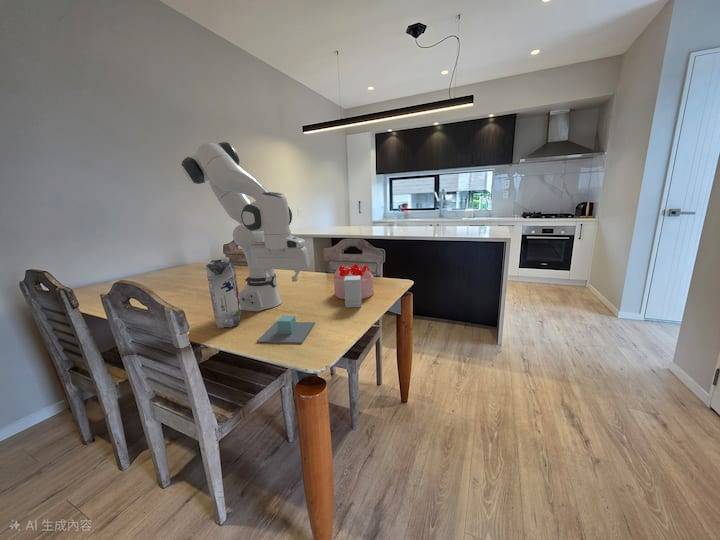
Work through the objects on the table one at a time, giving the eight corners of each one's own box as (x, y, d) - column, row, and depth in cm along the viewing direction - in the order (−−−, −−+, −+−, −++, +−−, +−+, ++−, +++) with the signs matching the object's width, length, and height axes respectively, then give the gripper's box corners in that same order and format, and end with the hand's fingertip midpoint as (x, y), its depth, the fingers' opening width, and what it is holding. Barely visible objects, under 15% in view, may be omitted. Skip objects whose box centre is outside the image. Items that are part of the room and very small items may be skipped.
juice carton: (215, 330, 109) (202, 261, 102) (220, 320, 119) (209, 256, 112) (240, 327, 111) (229, 259, 104) (243, 317, 121) (233, 254, 114)
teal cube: (278, 334, 102) (276, 321, 101) (283, 328, 107) (282, 315, 106) (291, 334, 101) (290, 321, 100) (296, 328, 106) (295, 315, 105)
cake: (376, 288, 152) (375, 262, 149) (370, 301, 133) (369, 271, 129) (340, 287, 156) (338, 262, 152) (330, 300, 137) (327, 271, 133)
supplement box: (361, 307, 126) (360, 279, 123) (345, 307, 126) (343, 280, 123) (362, 301, 133) (360, 275, 130) (346, 302, 133) (344, 275, 130)
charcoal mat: (256, 342, 98) (256, 341, 98) (276, 323, 113) (275, 321, 113) (301, 343, 96) (301, 342, 95) (315, 323, 111) (315, 322, 111)
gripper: (244, 243, 95) (249, 283, 98) (304, 242, 92) (307, 283, 96) (253, 240, 101) (258, 278, 104) (309, 240, 98) (312, 278, 102)
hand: (282, 281), depth 100 cm, fingers open, 8 cm apart
